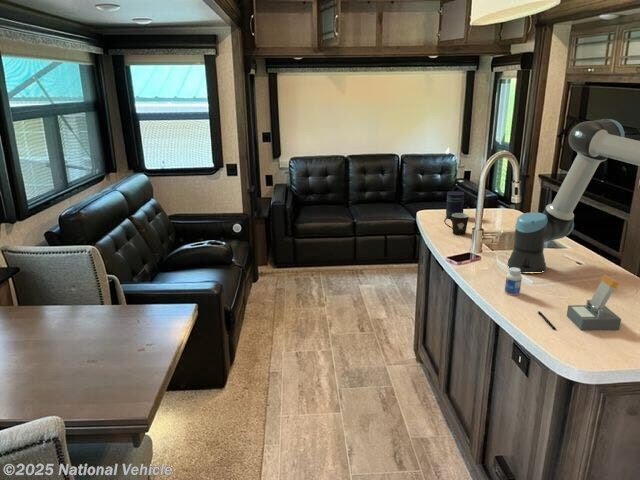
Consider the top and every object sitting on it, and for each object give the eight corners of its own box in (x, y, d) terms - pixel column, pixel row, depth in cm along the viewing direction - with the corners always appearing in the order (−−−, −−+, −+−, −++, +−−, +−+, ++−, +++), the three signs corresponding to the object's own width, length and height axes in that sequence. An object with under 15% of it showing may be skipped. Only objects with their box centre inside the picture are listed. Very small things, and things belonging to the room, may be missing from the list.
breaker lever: (591, 307, 157) (609, 276, 153) (600, 315, 151) (619, 283, 147) (586, 305, 156) (604, 274, 153) (594, 313, 151) (613, 281, 147)
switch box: (602, 315, 160) (605, 298, 158) (619, 330, 150) (622, 312, 148) (566, 315, 160) (569, 298, 158) (580, 330, 151) (583, 312, 149)
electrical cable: (536, 312, 164) (537, 310, 163) (539, 312, 164) (539, 310, 163) (552, 330, 152) (553, 327, 152) (555, 330, 152) (556, 327, 152)
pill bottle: (501, 291, 180) (503, 268, 177) (512, 288, 182) (514, 265, 179) (512, 297, 175) (514, 273, 172) (523, 294, 177) (525, 270, 174)
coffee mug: (469, 232, 250) (470, 214, 247) (464, 236, 243) (466, 218, 240) (448, 229, 256) (449, 211, 253) (442, 233, 249) (443, 215, 246)
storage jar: (446, 219, 274) (447, 194, 269) (444, 215, 283) (446, 191, 278) (464, 220, 272) (465, 195, 267) (461, 215, 281) (463, 191, 276)
